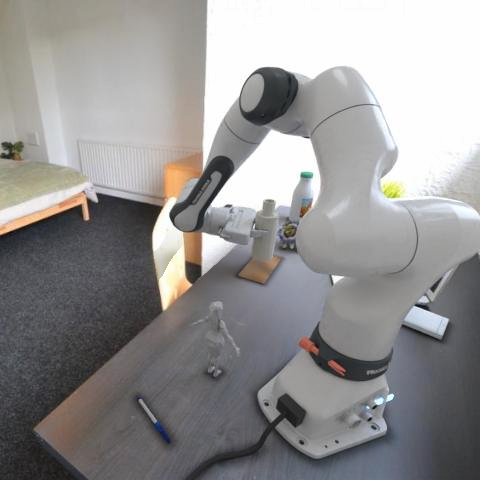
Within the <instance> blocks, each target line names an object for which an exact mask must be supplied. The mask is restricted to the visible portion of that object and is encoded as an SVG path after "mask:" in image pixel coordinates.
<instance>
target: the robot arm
mask: <svg viewBox="0 0 480 480" xmlns="http://www.w3.org/2000/svg"><path fill="white" fill-rule="evenodd" d="M240 89H241V90H240V93H239V96H238V97H237V98H236V99H235V101H234V102H233V103H232V105H231V106H230V107H229V109H228V110H227V112H226V114H225V115H224V116H223V118H222V119H221V120H222V121H220V124H219V126H218V128H217V129H216V132H215V135H214V137H213V140H212V143H211V146H210V149H209V153H208V156H207V159H206V162H205V165H204V168H203V170H202V172H201V175H200V176H199V177H192V178H189V179H188V180H187V181H186V182H185V183H184V184H183V186H182V188H181V189H180V192H179V194H178V196H177V198H176V201H175V203H174V204H173V205H172V207H171V209H170V211H169V214H168V217H169V220H170V222H171V225H172V226H173V227H174V228H175V229H177V230H178V231H180V232H183V233H186V234H187V233H193V234H202V233H203V234H207V235H210V236H216V237H219V238H220V239H223V240H224V241H225V242H227V243H232V244H237V245H241V246H246V245H249V243H250V240H251V239H253V238H257V237H267V236H268V230H265V229H262V230H255V228H254V227H255V221H256V213H257V212H258V210H257V209H255V208H253V207H247V206H241V205H240V206H239V205H236V206H234V204H233V203H226V204H225V205H222V206H219V207H216V206H212V203H213V202H214V200H215V199H216V198H217V196H218V195H219V193H220V192H221V190H222V189H223V188H224V187H225V185H226V184H227V183H228V181H229V180H230V179H231V178H232V177H233V176H234V174H236V172H237V171H238V170H239V169H240V168H241V167H242V166H243V164H245V162H247V160H248V159H249V158H250V157H251V156H252V154H254V153H255V151H256V150H257V149H258V148H259V147H260V146H261V145H262V143H263V142H264V140H265V139H266V137H268V135H269V134H270V132H271V131H274V132H278V133H280V134H282V135H286V136H294V137H301V138H303V139H309V140H310V143H311V147H312V150H313V153H314V158H315V161H316V164H317V168H318V173H319V179H320V180H319V181H320V184H319V185H320V186H319V192H318V196H317V198H316V200H315V201H314V204H312V207H311V209H310V210H309V211H308V212H307V213H306V214H305V215H304V216H303V218H302V219H301V221H300V223H299V225H298V228H297V231H296V245H295V248H296V252H297V254H298V256H299V258H300V260H301V261H302V263H304V265H305V266H306V267H307V268H308V269H309V270H310V271H312V272H313V273H316V274H318V275H319V274H320V275H325V276H326V275H328V276H334V277H335V276H336V277H342V278H339V280H337V281H336V282H334V283H333V284H332V285H331V286H330V288H329V289H328V291H327V293H326V296H325V300H324V304H323V307H322V312H321V316H320V319H319V321H318V322H317V324H316V326H315V327H314V328H313V330H312V331H311V335H310V337H308V336H303V337H302V338H301V339H299V341H298V346H299V347H300V348H301V349H300V350H299V351H298V352H297V353H296V354H295V355H294V356H293V357H292V358H291V359H290V361H288V363H287V364H285V366H284V367H283V368H282V369H281V370H280V371H279V372H278V373H277V374H276V375H275V376H274V377H272V379H270V380H269V381H268V382H267V383H266V384H265V385H263V386H262V387H261V388H260V389H259V390H258V392H257V394H256V398H257V402H258V405H259V408H260V409H261V411H262V413H263V414H264V416H265V418H266V419H267V420H268V422H269V425H268V426H266V428H265V429H264V430H263V432H262V434H261V436H260V438H259V439H258V441H257V442H256V443H255V444H253V445H252V446H251V447H248V448H246V449H243V450H238V451H233V452H225V453H220V454H217V455H214V456H212V457H210V458H208V459H206V460H205V461H203V462H202V463H201V464H200V465H198V466H197V467H196V468H195V469H194V470H193V471H192V472H191V473H190V474H189V475H188V477H187V478H186V479H185V480H195V479H196V478H197V477H198V476H199V475H200V474H201V473H202V472H203V471H205V470H206V469H207V468H209V467H210V466H212V465H214V464H216V463H219V462H221V461H225V460H232V459H238V458H242V457H247V456H249V455H252V454H254V453H256V452H257V451H259V450H260V449H261V448H262V447H263V446H264V444H265V443H266V440H267V439H268V437H269V436H270V434H271V433H272V431H273V430H274V429H275V430H276V431H277V432H278V433H279V434H280V435H281V437H282V438H283V439H285V440H286V441H287V443H289V444H290V445H291V446H292V447H294V448H295V449H296V450H298V451H299V452H300V453H302V454H304V455H305V456H308V457H309V458H311V459H314V460H320V459H323V458H327V457H328V456H331V455H335V454H337V453H340V452H342V451H345V450H348V449H350V448H353V447H356V446H359V445H361V444H364V443H367V442H369V441H372V440H375V439H378V438H381V437H383V436H385V435H386V434H387V431H388V426H387V423H386V421H385V419H384V416H383V415H384V411H385V408H386V404H387V402H389V401H391V400H393V398H394V397H395V396H394V393H391V394H390V389H389V385H388V379H387V376H386V372H387V371H388V368H389V367H390V366H391V363H392V360H393V354H394V344H395V342H396V339H397V337H398V335H399V333H400V330H401V327H402V325H403V324H402V323H403V321H404V319H405V318H406V316H407V314H408V313H409V312H410V310H411V309H412V308H413V306H416V304H417V303H418V302H419V301H420V300H421V298H423V296H425V294H426V293H427V292H428V291H429V290H430V289H431V288H433V286H434V285H435V284H436V283H437V282H438V281H440V279H441V278H442V277H444V276H445V275H446V274H447V273H448V272H450V271H451V270H452V269H454V268H455V267H457V266H459V265H461V264H462V263H465V262H466V261H468V260H470V259H471V258H473V257H474V256H475V255H476V254H477V253H479V251H480V214H479V212H478V211H477V210H476V209H475V208H474V207H473V206H471V205H470V204H468V203H466V202H463V201H461V200H457V199H451V198H446V197H438V196H430V195H424V196H423V195H422V196H406V197H387V196H386V194H385V193H384V191H383V189H382V182H381V181H382V179H383V178H384V177H386V176H387V175H388V174H389V173H390V172H391V171H392V169H393V168H394V167H395V165H396V163H397V161H398V159H399V155H400V148H399V145H398V142H397V140H396V137H395V135H394V132H393V130H392V128H391V126H390V123H389V121H388V119H387V116H386V114H385V111H384V108H383V107H382V105H381V103H380V100H379V99H378V97H377V95H376V93H375V92H374V90H373V89H372V87H371V86H370V84H369V83H368V82H367V80H366V79H365V77H364V76H363V75H362V74H361V73H360V72H359V71H358V70H357V69H355V68H354V67H352V66H347V65H338V66H334V67H333V66H332V67H329V68H328V69H325V70H323V71H322V72H320V73H318V74H317V75H316V76H315V77H314V78H311V77H309V76H307V75H304V74H302V73H299V72H295V71H289V70H286V69H284V68H282V67H278V66H262V67H259V68H257V69H255V70H254V71H252V73H251V74H250V75H249V76H248V77H247V78H246V80H245V81H244V83H243V85H242V87H241V88H240Z"/></svg>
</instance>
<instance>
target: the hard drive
mask: <svg viewBox="0 0 480 480" xmlns="http://www.w3.org/2000/svg"><path fill="white" fill-rule="evenodd" d="M449 322H450V319H449V318H447V317H444V316H442V315H439V314H436V313H434V312H431V311H429V310H426V309H424V308H421V307H418V306H416V305H414V306H413V308H412V309H411V310H410V312H409V313H408V314H407V316H406V318H405V319H404V321H403V323H402V325H403V326H405V327H408V328H411V329H413V330H416V331H418V332H421V333H423V334H424V335H425V334H426V335H428V336H430V337H433V338H435V339H438V340H442V338H443V336H444V334H445V331H446V329H447V326H448V324H449Z"/></svg>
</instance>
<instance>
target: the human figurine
mask: <svg viewBox="0 0 480 480" xmlns="http://www.w3.org/2000/svg"><path fill="white" fill-rule="evenodd" d="M223 310H224V304H223V302H221V301H220V300H219V301H212V302H210V304H209V305H208V309H207V311H208V314H207V316H205V317H204V318H203V319H198V321H195V322H193V323H192V324H190V325H189V328H192V327H193V326H195V325H201V324H203V323H207V322H208V328H209V330H208V331H207V332H206V333H205V337H204V339H205V343H206V348H207V352H208V355H207V364H208V368H207V373H208V374H209V373H210V374H212V373H213V377H215V378H216V377H218V376H219V374H221V373H222V370H220V369H219V364H220V359H221V354H222V351H223V349H224V347H225V343H226V340H225V338H224V336H223V334H224V335H225V336H226V339H227V341H228V342H229V344H230V345H231V346H232V347H233V349H234V351H235V353H236V358H241V357H242V355H243V354H242V353H241V352H240V351H241V348H240V347H238V346H237V345H236V343H235V340H234V338H233V337H232V336H231V335H230V334H229V331H228V329H227V327H226V322H225V321H224V320H223ZM222 333H223V334H222ZM212 359H213V361H212ZM212 363H213V366H212Z"/></svg>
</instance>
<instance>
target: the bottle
mask: <svg viewBox="0 0 480 480" xmlns="http://www.w3.org/2000/svg"><path fill="white" fill-rule="evenodd" d="M276 204H277V201H276V200H275V199H273V198H272V199H271V198H264V199H263V200H262V208H261V209H260V210H257V212H256V221H255V224H254V229H255V230H262V229H265V230H268V236H267V237H257V238H252V244H251V245H252V246H251V253H250V254H251V258H255V259H257V260H261V261H267V260H271V259H272V258H273V255H274V252H275V246H276V239H277V235H276V234H277V231H278V228H279V227H278V226H279V220H280V213H279V212H277V211H275V210H276Z"/></svg>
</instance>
